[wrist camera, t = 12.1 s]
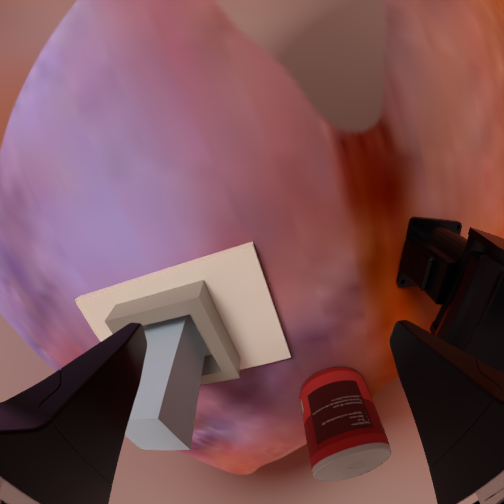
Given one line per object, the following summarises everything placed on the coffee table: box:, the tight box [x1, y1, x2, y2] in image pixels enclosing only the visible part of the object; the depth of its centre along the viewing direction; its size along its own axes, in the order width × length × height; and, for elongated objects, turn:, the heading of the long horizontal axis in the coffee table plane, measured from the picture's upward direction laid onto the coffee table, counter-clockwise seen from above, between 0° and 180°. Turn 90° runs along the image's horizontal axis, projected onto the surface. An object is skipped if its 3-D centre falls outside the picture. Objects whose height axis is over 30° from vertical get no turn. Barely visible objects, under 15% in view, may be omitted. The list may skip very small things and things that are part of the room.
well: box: [75, 242, 291, 385], centre depth 23 cm, size 18×12×3 cm, turn 108°
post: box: [125, 314, 206, 450], centre depth 19 cm, size 4×4×11 cm
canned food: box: [300, 367, 391, 481], centre depth 23 cm, size 8×8×11 cm
